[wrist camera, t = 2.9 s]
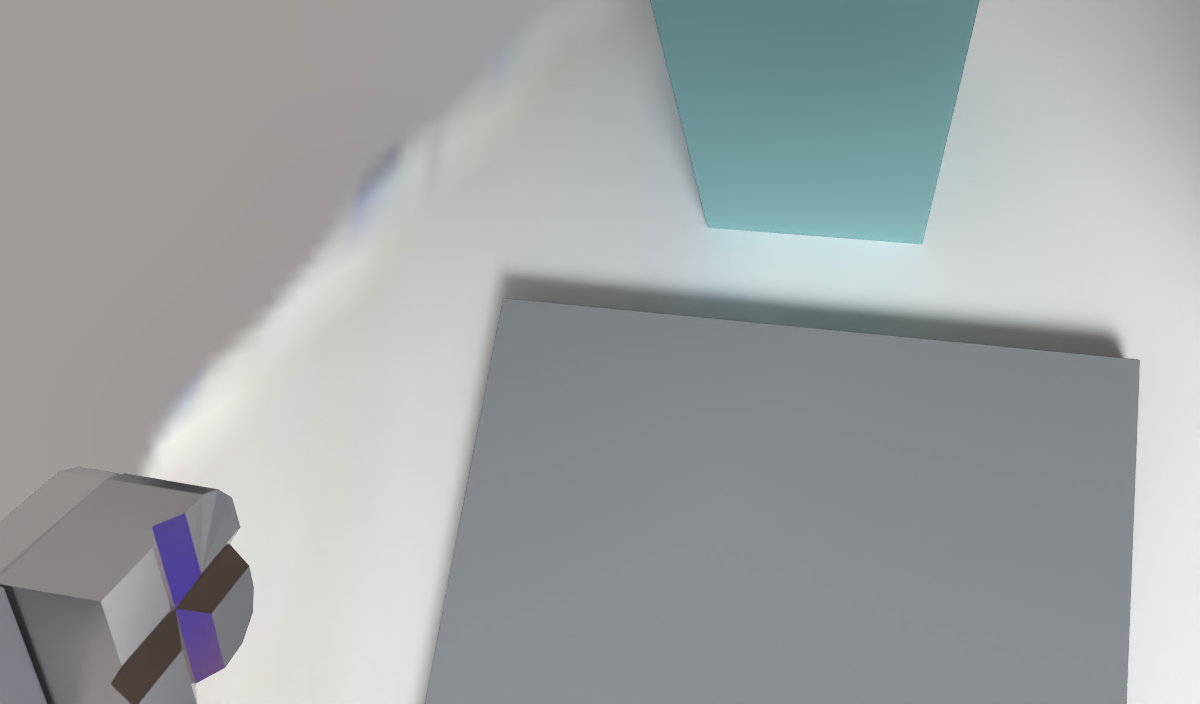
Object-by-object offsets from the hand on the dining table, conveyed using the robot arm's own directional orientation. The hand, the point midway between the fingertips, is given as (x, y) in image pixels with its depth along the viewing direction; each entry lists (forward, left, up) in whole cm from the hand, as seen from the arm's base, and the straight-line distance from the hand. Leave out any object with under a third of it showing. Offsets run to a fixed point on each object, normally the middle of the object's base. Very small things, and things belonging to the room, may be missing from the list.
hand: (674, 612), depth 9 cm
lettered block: (-10, -7, -15) cm, 19 cm away
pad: (0, 0, -15) cm, 15 cm away
